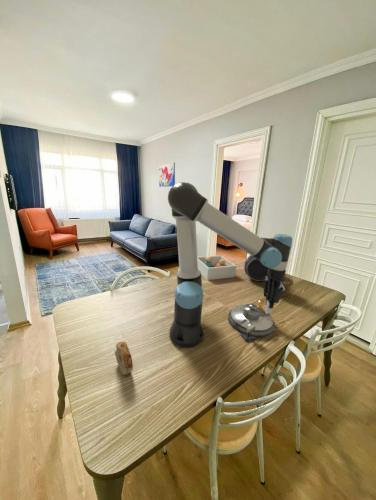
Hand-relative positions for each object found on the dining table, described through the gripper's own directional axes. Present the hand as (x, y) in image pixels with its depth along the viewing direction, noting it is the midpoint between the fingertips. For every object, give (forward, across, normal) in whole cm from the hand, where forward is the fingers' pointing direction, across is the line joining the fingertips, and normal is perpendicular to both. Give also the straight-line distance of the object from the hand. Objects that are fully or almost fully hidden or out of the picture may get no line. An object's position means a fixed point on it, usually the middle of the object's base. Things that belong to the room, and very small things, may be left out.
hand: (267, 312), depth 102 cm
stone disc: (+7, -7, +68) cm, 69 cm away
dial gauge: (+6, -6, +15) cm, 17 cm away
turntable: (+4, +3, +7) cm, 9 cm away
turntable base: (+6, +3, +7) cm, 10 cm away
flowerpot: (+6, +24, -30) cm, 39 cm away
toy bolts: (+7, +66, -5) cm, 67 cm away
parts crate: (+6, +65, -4) cm, 65 cm away
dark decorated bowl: (+6, +45, -29) cm, 54 cm away
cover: (+3, +3, +7) cm, 8 cm away
